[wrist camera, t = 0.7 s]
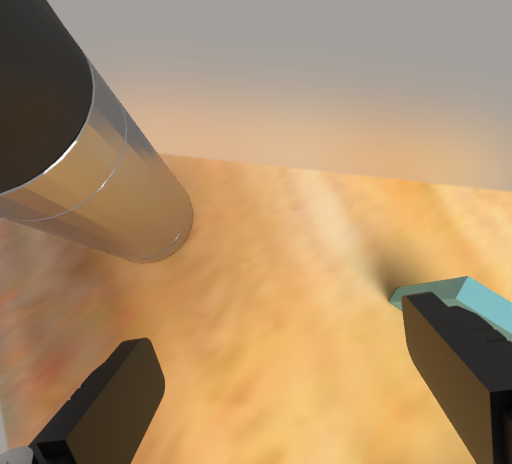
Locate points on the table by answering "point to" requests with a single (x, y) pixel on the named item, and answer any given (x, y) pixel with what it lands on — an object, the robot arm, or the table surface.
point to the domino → (466, 300)
